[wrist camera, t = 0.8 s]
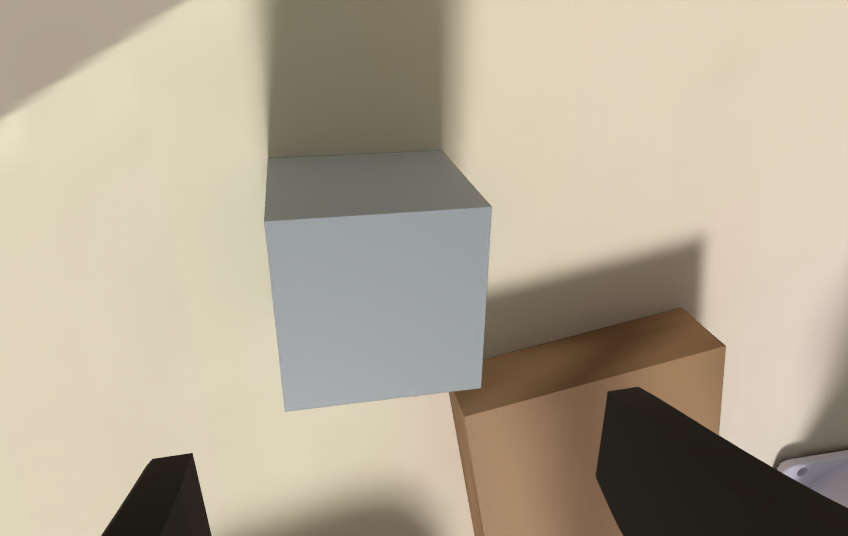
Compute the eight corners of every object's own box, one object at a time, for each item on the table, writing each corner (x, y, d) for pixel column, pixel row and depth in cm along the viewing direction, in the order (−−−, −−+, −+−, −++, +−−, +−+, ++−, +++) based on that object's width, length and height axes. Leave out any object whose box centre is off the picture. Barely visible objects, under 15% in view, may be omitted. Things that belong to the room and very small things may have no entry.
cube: (441, 149, 18) (491, 206, 14) (437, 298, 21) (481, 387, 16) (267, 157, 18) (264, 221, 13) (283, 312, 20) (284, 411, 15)
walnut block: (674, 302, 23) (725, 346, 21) (669, 476, 27) (711, 530, 25) (442, 363, 22) (464, 417, 20) (472, 533, 26) (494, 597, 24)
